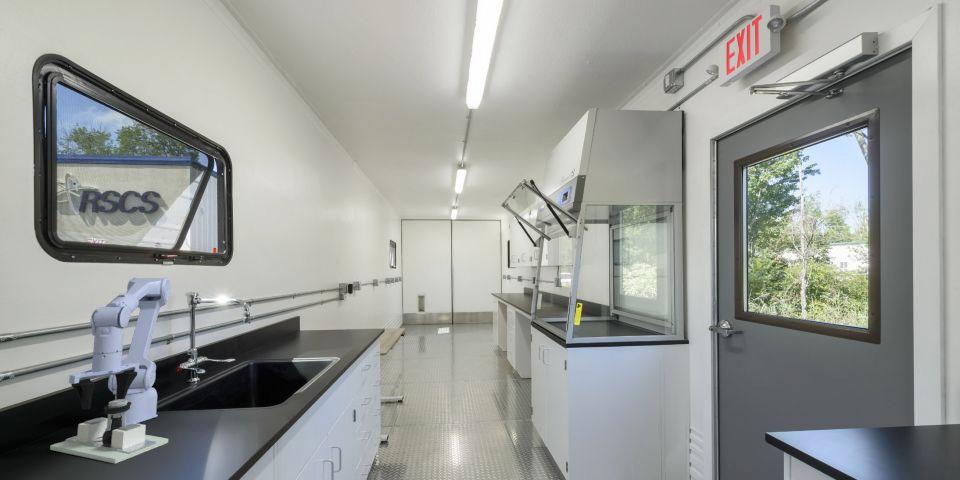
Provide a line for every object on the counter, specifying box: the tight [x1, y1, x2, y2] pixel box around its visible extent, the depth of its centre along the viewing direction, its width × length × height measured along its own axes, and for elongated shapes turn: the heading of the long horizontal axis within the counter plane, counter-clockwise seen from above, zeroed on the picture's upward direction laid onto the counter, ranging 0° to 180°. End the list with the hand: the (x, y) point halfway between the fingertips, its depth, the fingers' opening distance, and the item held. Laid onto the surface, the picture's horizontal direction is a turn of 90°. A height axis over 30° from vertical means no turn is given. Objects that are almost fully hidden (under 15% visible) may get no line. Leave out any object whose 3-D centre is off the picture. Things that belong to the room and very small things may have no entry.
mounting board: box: [49, 434, 169, 464], centre depth 103 cm, size 12×24×1 cm, turn 73°
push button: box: [94, 399, 131, 444], centre depth 103 cm, size 7×5×10 cm
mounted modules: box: [76, 417, 147, 449], centre depth 103 cm, size 5×17×4 cm, turn 73°
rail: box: [65, 435, 156, 454], centre depth 103 cm, size 6×24×1 cm, turn 73°
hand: (103, 404), depth 105 cm, fingers open, 7 cm apart
